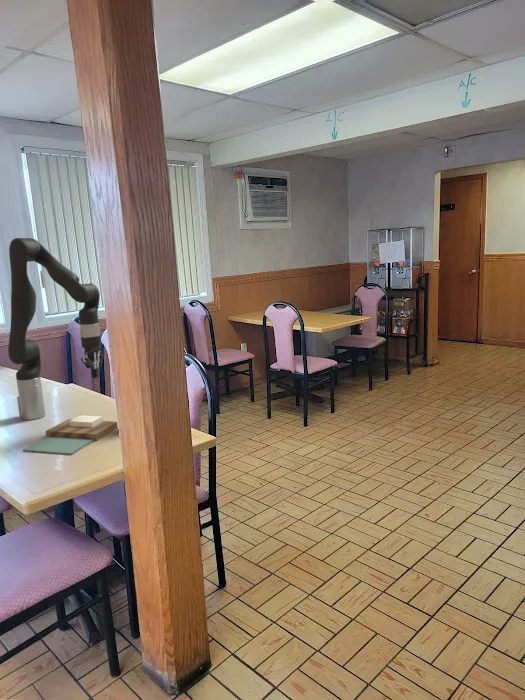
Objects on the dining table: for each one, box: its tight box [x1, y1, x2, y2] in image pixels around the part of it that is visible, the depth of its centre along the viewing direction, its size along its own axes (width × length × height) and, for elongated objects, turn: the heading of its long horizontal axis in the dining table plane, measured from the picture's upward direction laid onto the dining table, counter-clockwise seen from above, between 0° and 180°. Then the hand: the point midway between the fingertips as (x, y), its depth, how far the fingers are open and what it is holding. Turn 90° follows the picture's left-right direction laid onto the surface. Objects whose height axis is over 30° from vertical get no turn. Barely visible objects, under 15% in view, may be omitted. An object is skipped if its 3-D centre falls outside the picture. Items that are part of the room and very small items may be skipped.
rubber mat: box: [22, 436, 95, 456], centre depth 185 cm, size 20×13×1 cm, turn 74°
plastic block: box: [69, 415, 104, 427], centre depth 201 cm, size 10×7×2 cm
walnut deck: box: [45, 418, 119, 442], centre depth 198 cm, size 22×14×2 cm, turn 74°
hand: (95, 377), depth 206 cm, fingers closed
